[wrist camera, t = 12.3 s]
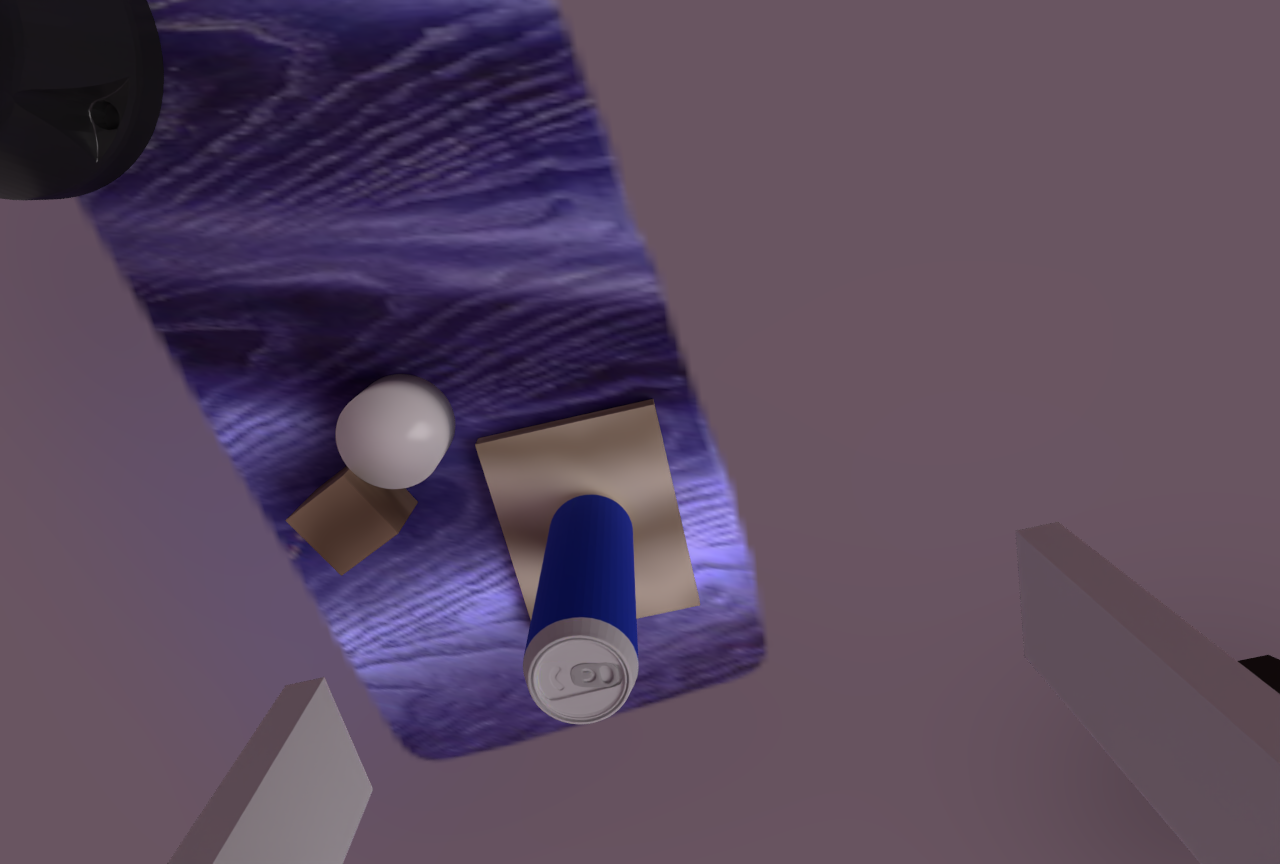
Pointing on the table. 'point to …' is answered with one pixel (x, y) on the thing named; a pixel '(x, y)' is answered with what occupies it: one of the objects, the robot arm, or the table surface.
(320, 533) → the walnut block
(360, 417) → the pale pink rounded block
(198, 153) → the table surface
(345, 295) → the table surface
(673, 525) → the board
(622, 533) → the beverage can
